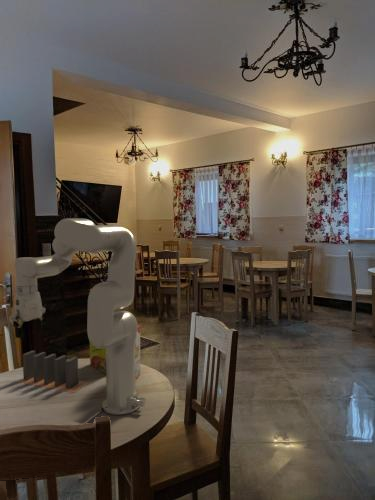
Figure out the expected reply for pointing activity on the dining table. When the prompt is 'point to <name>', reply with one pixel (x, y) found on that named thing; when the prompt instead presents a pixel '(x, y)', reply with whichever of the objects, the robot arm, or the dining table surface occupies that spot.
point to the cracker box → (137, 354)
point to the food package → (98, 358)
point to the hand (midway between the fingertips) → (29, 334)
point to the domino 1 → (28, 365)
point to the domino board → (52, 385)
